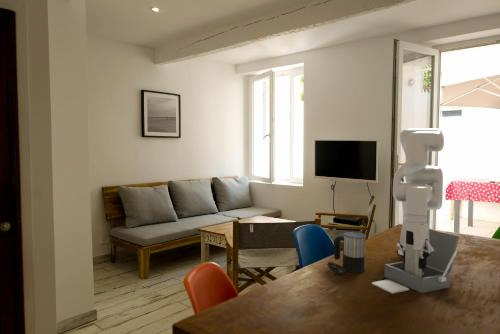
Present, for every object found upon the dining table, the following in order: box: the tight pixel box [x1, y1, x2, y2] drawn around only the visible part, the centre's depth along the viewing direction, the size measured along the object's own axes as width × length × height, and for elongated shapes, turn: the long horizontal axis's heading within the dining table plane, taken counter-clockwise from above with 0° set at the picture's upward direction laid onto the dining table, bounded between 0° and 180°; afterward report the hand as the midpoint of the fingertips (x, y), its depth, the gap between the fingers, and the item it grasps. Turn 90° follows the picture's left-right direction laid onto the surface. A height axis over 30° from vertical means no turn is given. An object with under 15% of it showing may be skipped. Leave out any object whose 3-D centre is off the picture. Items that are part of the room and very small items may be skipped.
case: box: [383, 229, 460, 294], centre depth 143 cm, size 19×18×19 cm
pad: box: [371, 279, 410, 294], centre depth 138 cm, size 10×8×1 cm
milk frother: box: [327, 231, 367, 275], centre depth 155 cm, size 14×16×15 cm
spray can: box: [405, 230, 424, 278], centre depth 142 cm, size 7×7×20 cm
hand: (414, 264), depth 142 cm, fingers closed on spray can, 6 cm apart
